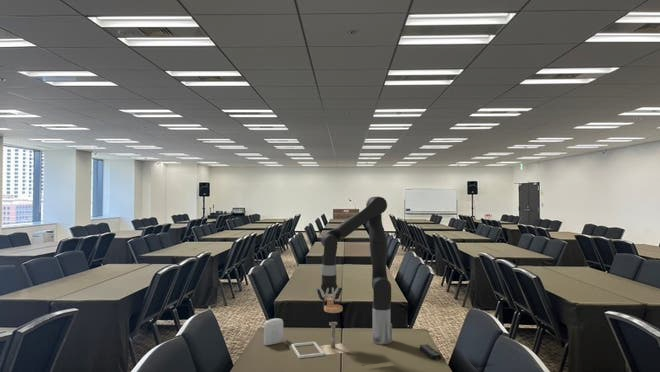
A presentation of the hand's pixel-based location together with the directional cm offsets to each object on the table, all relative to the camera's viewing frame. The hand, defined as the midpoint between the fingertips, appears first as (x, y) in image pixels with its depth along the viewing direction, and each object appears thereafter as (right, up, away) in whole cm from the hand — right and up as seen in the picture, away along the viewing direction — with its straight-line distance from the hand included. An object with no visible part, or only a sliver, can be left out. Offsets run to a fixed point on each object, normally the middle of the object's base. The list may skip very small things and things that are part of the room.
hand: (329, 307), depth 207 cm
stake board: (+2, -19, -9) cm, 21 cm away
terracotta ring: (+1, +1, -4) cm, 5 cm away
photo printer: (-28, -19, +3) cm, 35 cm away
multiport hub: (+48, -20, -11) cm, 53 cm away
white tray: (-10, -19, -11) cm, 24 cm away
